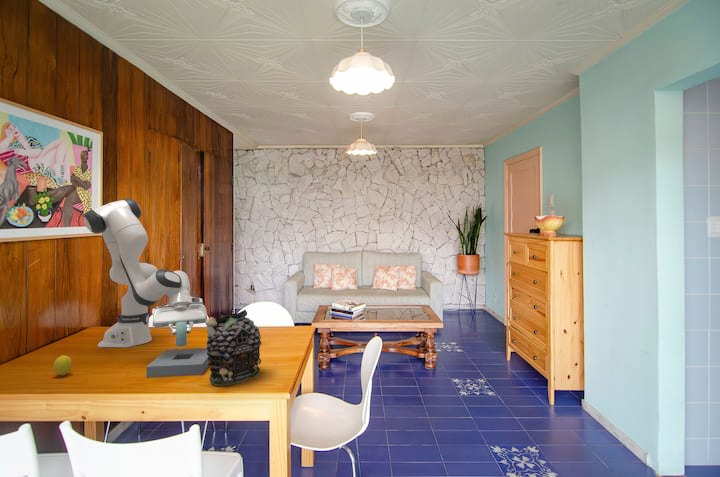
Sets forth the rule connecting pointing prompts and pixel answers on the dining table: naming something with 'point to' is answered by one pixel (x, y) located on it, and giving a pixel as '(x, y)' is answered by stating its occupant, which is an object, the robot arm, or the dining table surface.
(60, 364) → the lemon
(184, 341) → the peg
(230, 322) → the decorative house
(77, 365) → the dining table surface
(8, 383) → the dining table surface
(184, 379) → the dining table surface
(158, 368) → the cutout board
